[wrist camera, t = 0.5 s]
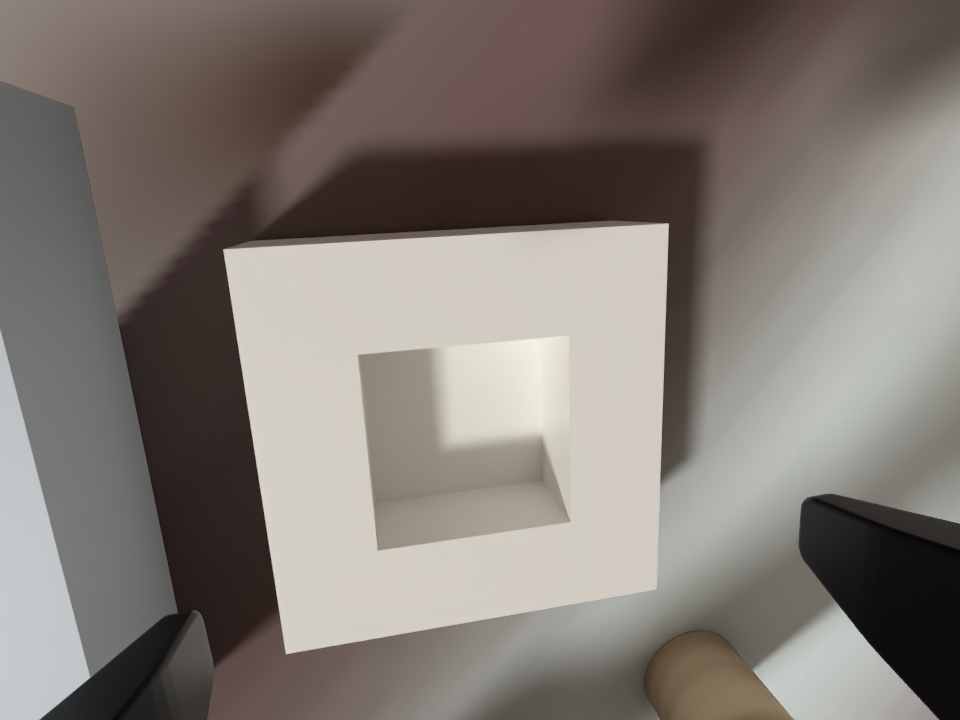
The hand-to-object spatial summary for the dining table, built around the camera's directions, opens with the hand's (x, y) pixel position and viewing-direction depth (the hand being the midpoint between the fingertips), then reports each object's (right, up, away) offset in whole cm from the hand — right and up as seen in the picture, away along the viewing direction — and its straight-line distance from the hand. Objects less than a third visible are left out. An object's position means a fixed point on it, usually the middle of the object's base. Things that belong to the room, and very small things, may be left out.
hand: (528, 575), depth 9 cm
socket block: (-2, +2, +13) cm, 13 cm away
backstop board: (-13, +1, +11) cm, 17 cm away
